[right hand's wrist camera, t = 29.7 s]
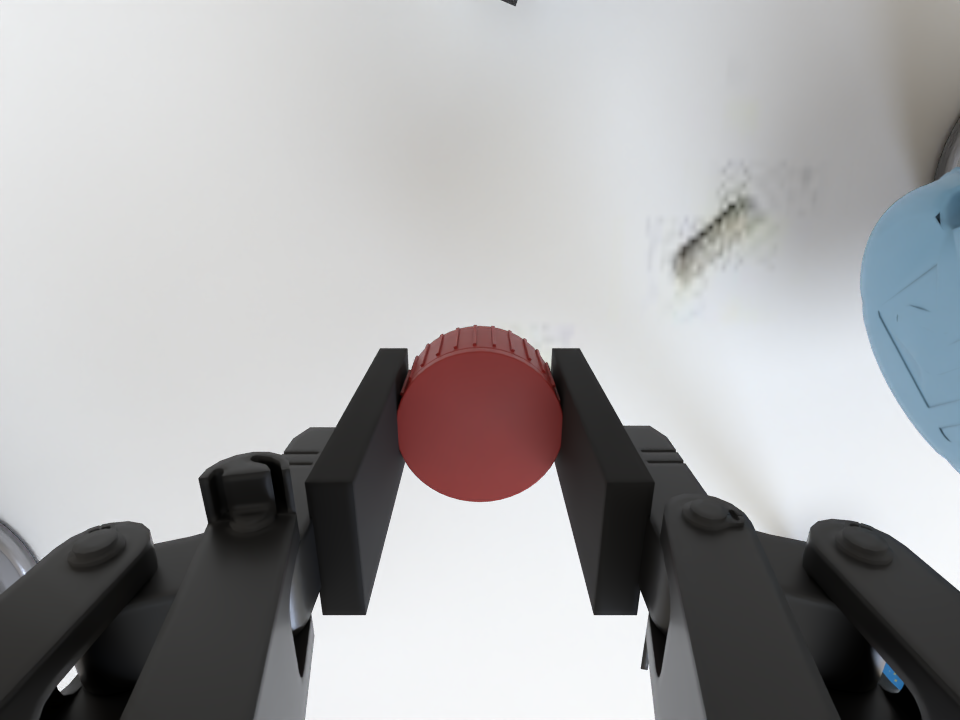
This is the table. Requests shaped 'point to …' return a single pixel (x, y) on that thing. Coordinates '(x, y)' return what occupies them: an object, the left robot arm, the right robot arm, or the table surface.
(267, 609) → the right robot arm
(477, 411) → the cap
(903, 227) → the left robot arm
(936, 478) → the table surface
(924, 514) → the table surface
